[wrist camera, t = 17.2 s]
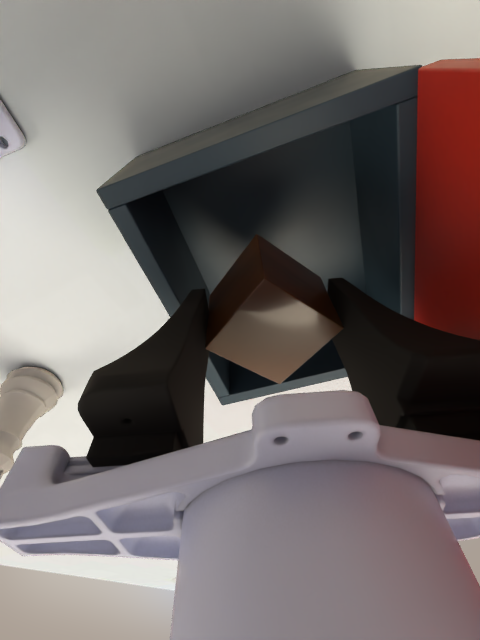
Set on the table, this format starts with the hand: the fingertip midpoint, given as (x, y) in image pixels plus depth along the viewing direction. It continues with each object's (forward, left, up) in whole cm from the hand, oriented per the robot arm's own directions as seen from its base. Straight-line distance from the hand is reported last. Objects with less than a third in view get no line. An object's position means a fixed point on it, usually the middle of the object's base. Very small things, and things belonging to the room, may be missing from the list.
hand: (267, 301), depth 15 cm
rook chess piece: (-21, -6, -7) cm, 23 cm away
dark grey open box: (+1, 0, -7) cm, 7 cm away
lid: (+6, 0, +6) cm, 9 cm away
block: (0, 0, -1) cm, 1 cm away
